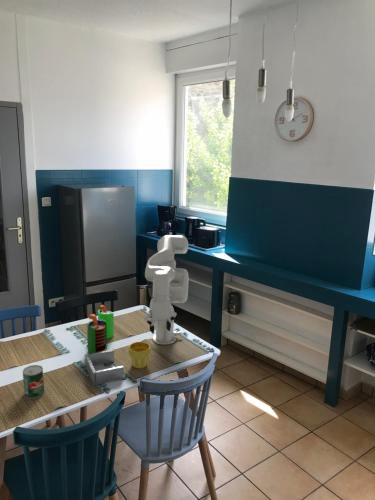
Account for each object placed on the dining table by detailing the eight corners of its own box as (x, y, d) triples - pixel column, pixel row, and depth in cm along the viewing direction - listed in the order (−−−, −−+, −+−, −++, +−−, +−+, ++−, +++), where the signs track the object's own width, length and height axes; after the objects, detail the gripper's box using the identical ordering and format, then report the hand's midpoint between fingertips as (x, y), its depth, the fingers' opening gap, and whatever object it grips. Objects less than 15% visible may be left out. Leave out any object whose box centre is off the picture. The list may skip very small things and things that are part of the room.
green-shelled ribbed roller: (117, 334, 225) (116, 304, 220) (107, 340, 218) (106, 309, 214) (105, 330, 229) (104, 300, 225) (94, 335, 223) (93, 305, 218)
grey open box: (113, 360, 197) (113, 349, 196) (123, 378, 182) (123, 366, 181) (85, 366, 192) (85, 354, 190) (93, 385, 177) (93, 373, 175)
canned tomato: (32, 386, 174) (30, 363, 172) (48, 389, 172) (46, 366, 170) (20, 396, 167) (18, 373, 164) (36, 400, 165) (34, 376, 162)
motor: (101, 358, 199) (100, 320, 194) (84, 355, 201) (82, 318, 196) (109, 348, 209) (108, 312, 204) (92, 346, 211) (91, 310, 206)
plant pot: (151, 370, 190) (151, 351, 188) (129, 371, 188) (128, 352, 186) (149, 359, 200) (149, 340, 198) (128, 360, 198) (128, 341, 196)
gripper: (174, 292, 197) (173, 325, 202) (140, 296, 190) (140, 330, 194) (180, 297, 191) (179, 331, 195) (145, 301, 184) (145, 337, 188)
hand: (160, 331), depth 195 cm, fingers open, 7 cm apart
